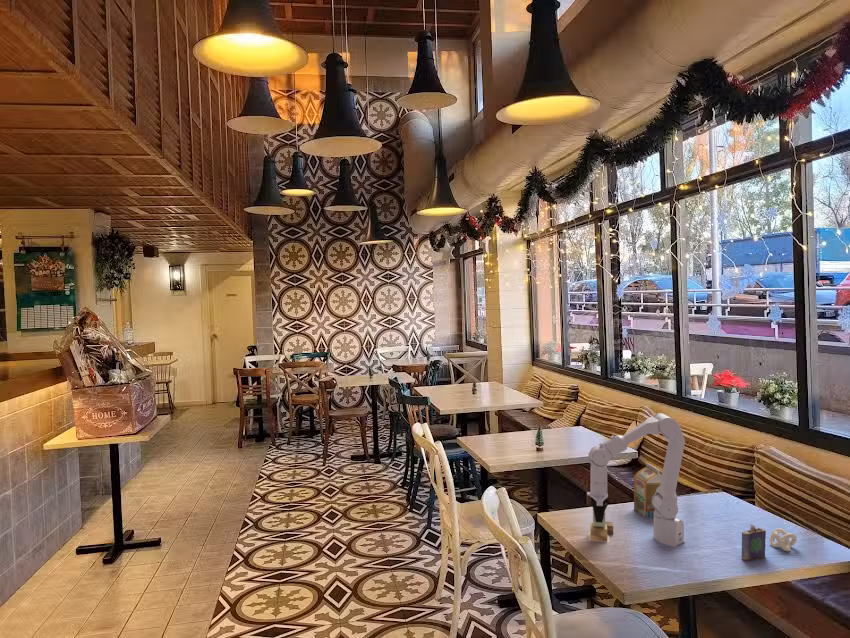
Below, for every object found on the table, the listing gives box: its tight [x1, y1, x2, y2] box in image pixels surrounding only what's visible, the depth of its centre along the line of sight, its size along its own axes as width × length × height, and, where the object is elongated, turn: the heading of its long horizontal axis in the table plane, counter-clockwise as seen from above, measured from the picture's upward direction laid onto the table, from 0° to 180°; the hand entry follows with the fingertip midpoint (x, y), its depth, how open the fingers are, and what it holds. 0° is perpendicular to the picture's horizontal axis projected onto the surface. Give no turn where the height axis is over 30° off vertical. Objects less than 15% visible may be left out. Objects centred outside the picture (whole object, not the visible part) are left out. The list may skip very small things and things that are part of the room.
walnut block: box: [605, 521, 614, 535], centre depth 214 cm, size 4×4×3 cm
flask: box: [741, 524, 767, 562], centre depth 193 cm, size 9×3×11 cm, turn 109°
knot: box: [768, 527, 798, 552], centre depth 201 cm, size 8×8×6 cm
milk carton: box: [633, 462, 662, 519], centre depth 234 cm, size 11×11×19 cm
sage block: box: [592, 509, 606, 527], centre depth 209 cm, size 4×4×5 cm
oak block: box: [589, 522, 607, 542], centre depth 209 cm, size 6×6×4 cm
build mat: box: [587, 532, 610, 543], centre depth 209 cm, size 14×14×1 cm
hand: (598, 519), depth 209 cm, fingers closed on sage block, 4 cm apart
